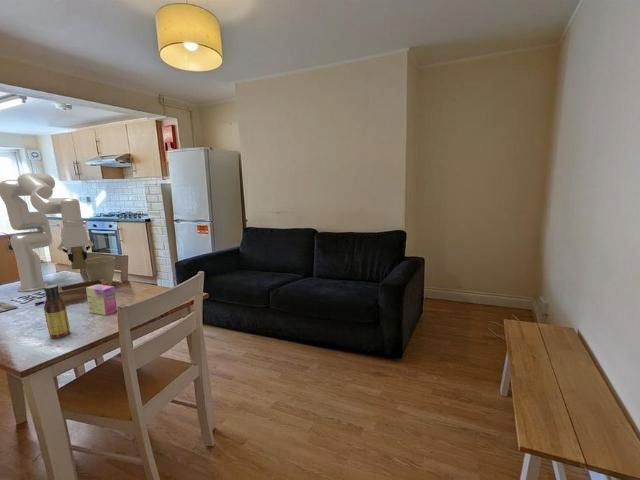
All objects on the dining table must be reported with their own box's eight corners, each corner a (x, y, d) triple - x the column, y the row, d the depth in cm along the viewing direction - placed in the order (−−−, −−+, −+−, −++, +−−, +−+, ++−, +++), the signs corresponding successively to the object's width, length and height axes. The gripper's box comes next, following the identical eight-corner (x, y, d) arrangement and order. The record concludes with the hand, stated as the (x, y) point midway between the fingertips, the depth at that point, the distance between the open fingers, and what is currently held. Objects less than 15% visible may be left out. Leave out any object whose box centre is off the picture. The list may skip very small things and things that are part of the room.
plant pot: (106, 281, 188) (103, 255, 186) (124, 284, 183) (121, 257, 180) (80, 289, 175) (76, 261, 172) (98, 292, 169) (94, 263, 167)
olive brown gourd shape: (78, 269, 154) (75, 247, 152) (68, 269, 156) (65, 247, 154) (89, 266, 160) (86, 245, 158) (79, 266, 161) (76, 244, 160)
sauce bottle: (57, 331, 124) (49, 283, 121) (74, 331, 125) (66, 282, 121) (44, 339, 118) (35, 288, 114) (62, 339, 118) (54, 288, 115)
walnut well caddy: (57, 300, 158) (55, 287, 157) (104, 290, 172) (102, 278, 171) (60, 306, 150) (58, 292, 148) (109, 296, 164) (108, 283, 162)
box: (117, 310, 144) (114, 285, 142) (105, 315, 139) (102, 290, 137) (101, 308, 148) (97, 283, 146) (89, 312, 142) (85, 287, 140)
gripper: (92, 222, 163) (97, 256, 166) (49, 225, 151) (55, 262, 154) (95, 223, 157) (100, 258, 161) (51, 226, 146) (57, 265, 149)
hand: (78, 260), depth 157 cm, fingers closed on olive brown gourd shape, 4 cm apart
